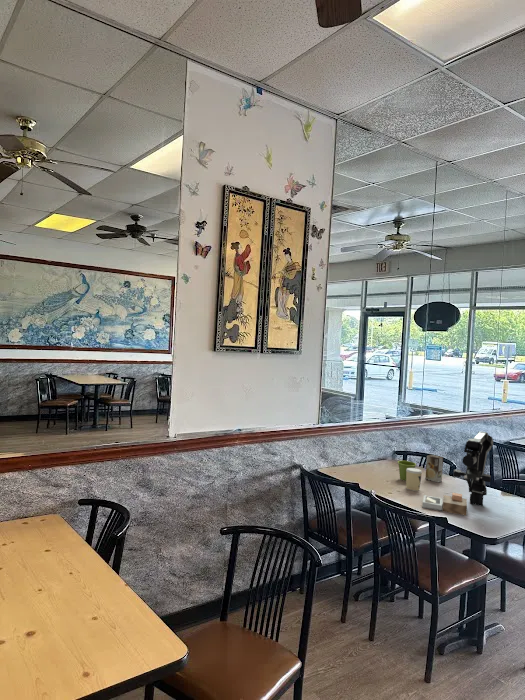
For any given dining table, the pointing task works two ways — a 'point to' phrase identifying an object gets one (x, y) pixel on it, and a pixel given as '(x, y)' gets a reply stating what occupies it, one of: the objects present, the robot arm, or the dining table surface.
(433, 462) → the coffee box
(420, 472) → the coffee cup
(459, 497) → the terracotta tile
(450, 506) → the brown cream box
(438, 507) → the bin
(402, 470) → the plant pot
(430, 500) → the cream tile
